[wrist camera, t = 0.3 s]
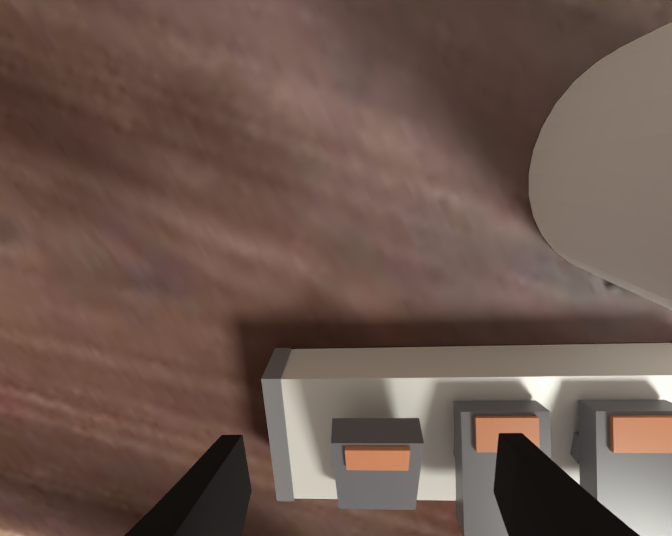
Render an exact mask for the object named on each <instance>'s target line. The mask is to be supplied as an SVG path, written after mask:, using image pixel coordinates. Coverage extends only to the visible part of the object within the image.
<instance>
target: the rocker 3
mask: <svg viewBox="0 0 672 536" xmlns="http://www.w3.org/2000/svg"><path fill="white" fill-rule="evenodd" d="M578 417H579V471H580V486H582V487H583V488H584V489H585V490H586V491H587V492H588V493H590V494H591V495H592V496H593V497H594V498H595V499H597V500H598V501H599V502H600V503H601V504H602V505H604V506H605V507H606V508H607V509H608V510H609V511H611V512H612V513H613V514H614V515H615V516H617V517H618V518H619V519H620V520H621V521H623V522H624V523H625V524H626V525H627V526H629V527H630V528H631V529H632V530H634V531H635V532H636V533H637V534H639V535H640V536H672V403H671V402H669V401H667V400H578Z"/></svg>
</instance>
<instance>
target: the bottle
mask: <svg viewBox="0 0 672 536" xmlns="http://www.w3.org/2000/svg"><path fill="white" fill-rule="evenodd" d="M529 200H530V205H531V209H532V214H533V218H534V220H535V222H536V224H537V226H538V228H539V230H540V233H541V235H542V236H543V237H544V239H545V240H546V241H547V243H548V244H549V245H550V246H551V248H552V249H553V250H554V251H555V252H556V253H558V254H559V255H560V256H561V257H563V258H564V259H565V260H566V261H568V262H569V263H571V264H573V265H575V266H577V267H579V268H581V269H583V270H585V271H588V272H590V273H592V274H594V275H596V276H598V277H601V278H603V279H605V280H607V281H609V282H611V283H614V284H616V285H618V286H620V287H622V288H625V289H627V290H629V291H631V292H633V293H635V294H638V295H640V296H642V297H644V298H646V299H648V300H651V301H653V302H655V303H657V304H659V305H661V306H664V307H666V308H668V309H670V310H672V22H671V23H669V24H666V25H664V26H662V27H660V28H658V29H656V30H654V31H652V32H650V33H648V34H646V35H644V36H642V37H640V38H638V39H636V40H634V41H632V42H630V43H628V44H626V45H624V46H622V47H620V48H618V49H617V50H615V51H613V52H612V53H610V54H609V55H607V56H605V57H604V58H602V59H600V60H599V61H597V62H596V63H595V64H594V65H592V66H591V67H590V68H589V69H588V70H587V71H585V72H584V73H583V74H582V75H581V76H580V77H579V78H577V79H576V80H575V81H574V82H573V83H572V85H571V86H570V87H569V88H568V89H567V91H566V92H565V93H564V94H563V95H562V97H561V98H560V99H559V100H558V101H557V102H556V104H555V106H554V107H553V109H552V111H551V113H550V114H549V116H548V118H547V119H546V121H545V123H544V124H543V126H542V129H541V131H540V134H539V136H538V139H537V141H536V144H535V147H534V149H533V154H532V159H531V164H530V169H529Z"/></svg>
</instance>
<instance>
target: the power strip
mask: <svg viewBox="0 0 672 536" xmlns="http://www.w3.org/2000/svg"><path fill="white" fill-rule="evenodd" d="M261 382H262V390H263V397H264V405H265V413H266V420H267V428H268V436H269V443H270V451H271V459H272V466H273V474H274V481H275V489H276V497H277V501H294V499H295V498H307V499H338V498H337V490H336V481H335V473H334V465H333V457H332V448H331V432H332V418H419V420H420V425H421V430H422V436H423V441H424V447H423V455H422V462H421V470H420V478H419V485H418V493H417V500H456V477H455V440H454V402H453V401H511V400H536V401H537V402H539V403H540V404H541V405H543V406H544V407H545V408H546V409H548V410H549V411H550V431H551V460H552V461H554V462H555V463H556V464H557V465H558V466H559V467H560V468H561V469H562V470H564V471H565V472H566V473H567V474H568V475H569V476H570V477H571V478H572V479H574V480H575V481H576V482H577V483H578V484H579V485H580V471H579V417H578V400H667V401H669V402H671V403H672V341H671V343H627V344H567V345H507V346H448V347H388V348H328V349H292V348H275V349H274V351H273V354H272V356H271V358H270V360H269V363H268V365H267V367H266V369H265V371H264V374H263V376H262V378H261Z"/></svg>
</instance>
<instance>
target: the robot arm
mask: <svg viewBox="0 0 672 536" xmlns="http://www.w3.org/2000/svg"><path fill="white" fill-rule="evenodd" d="M493 492H494V495H495V498H496V501H497V504H498V507H499V510H500V513H501V516H502V519H503V522H504V524H505V527H506V530H507V533H508V536H640V535H639V534H637V533H636V532H635V531H634V530H632V529H631V528H630V527H629V526H627V525H626V524H625V523H624V522H623V521H621V520H620V519H619V518H618V517H617V516H615V515H614V514H613V513H612V512H611V511H609V510H608V509H607V508H606V507H605V506H604V505H602V504H601V503H600V502H599V501H598V500H597V499H595V498H594V497H593V496H592V495H591V494H590V493H588V492H587V491H586V490H585V489H584V488H583V487H582V486H580V485H579V484H578V483H577V482H576V481H575V480H574V479H572V478H571V477H570V476H569V475H568V474H567V473H566V472H565V471H564V470H562V469H561V468H560V467H559V466H558V465H557V464H556V463H555V462H554V461H552V460H551V459H550V458H549V457H548V456H547V455H546V454H545V453H544V452H543V451H541V450H540V449H539V448H538V447H537V446H536V445H535V444H534V443H533V442H531V441H530V440H529V439H528V438H527V437H526V436H525V435H524V434H522V433H499V436H498V446H497V457H496V468H495V479H494V490H493ZM250 494H251V484H250V478H249V472H248V466H247V460H246V454H245V448H244V442H243V436H242V435H222V436H221V437H220V438H219V439H218V440H217V441H216V442H215V443H214V444H213V445H212V446H211V447H210V448H209V449H208V450H207V451H206V452H205V454H204V455H203V456H202V457H201V458H200V459H199V460H198V461H197V462H196V463H195V464H194V465H193V466H192V468H191V469H190V470H189V471H188V472H187V473H186V474H185V475H184V476H183V477H182V478H181V479H180V480H179V481H178V482H177V483H176V485H175V486H174V487H173V488H172V489H171V490H170V491H169V492H168V493H167V494H166V495H165V496H164V497H163V498H162V499H161V500H160V501H159V502H158V503H157V504H156V505H155V506H154V507H153V508H152V509H151V510H150V511H149V512H148V513H147V514H146V515H145V516H144V517H143V518H142V519H141V520H140V521H139V522H138V523H137V524H136V525H135V526H134V527H133V528H132V529H131V530H130V531H129V532H128V533H127V534H126V535H125V536H241V533H242V529H243V525H244V520H245V516H246V512H247V508H248V503H249V499H250Z"/></svg>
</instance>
